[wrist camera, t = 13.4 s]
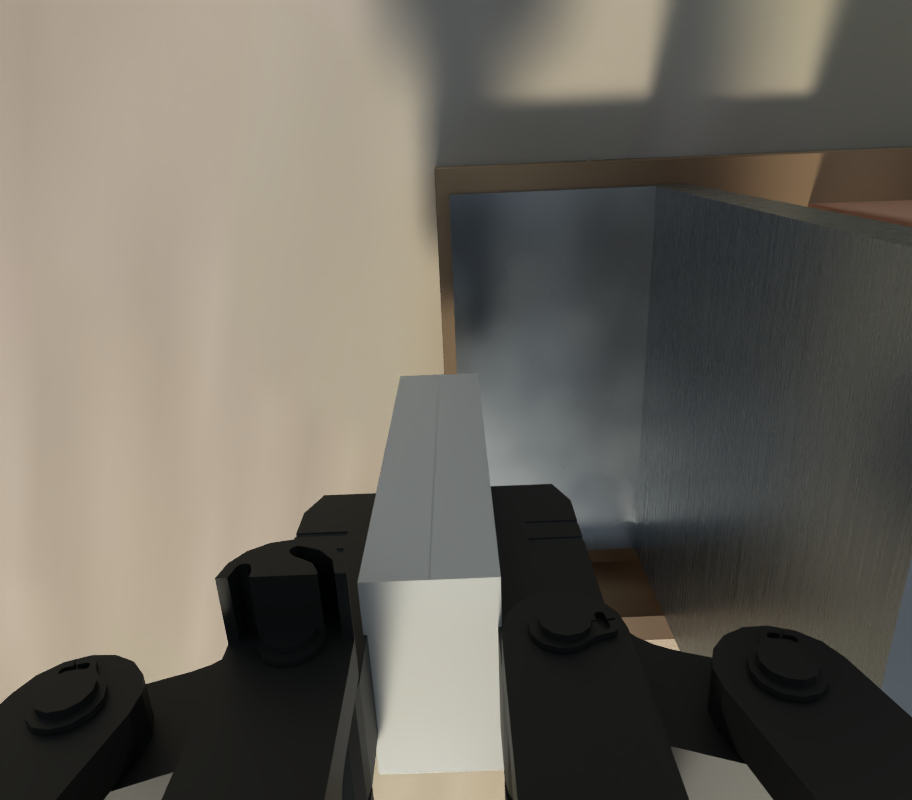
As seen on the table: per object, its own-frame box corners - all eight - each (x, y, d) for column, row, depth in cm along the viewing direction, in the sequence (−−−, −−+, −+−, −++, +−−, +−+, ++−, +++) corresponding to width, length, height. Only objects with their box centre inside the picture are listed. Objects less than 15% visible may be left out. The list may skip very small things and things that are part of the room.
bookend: (463, 544, 18) (480, 969, 9) (449, 192, 15) (451, 285, 6) (659, 536, 18) (879, 954, 9) (686, 182, 15) (1076, 259, 6)
